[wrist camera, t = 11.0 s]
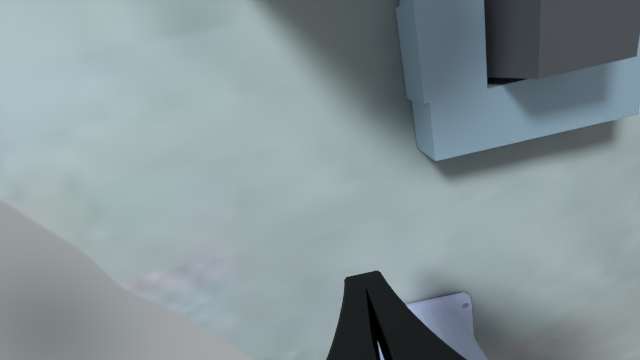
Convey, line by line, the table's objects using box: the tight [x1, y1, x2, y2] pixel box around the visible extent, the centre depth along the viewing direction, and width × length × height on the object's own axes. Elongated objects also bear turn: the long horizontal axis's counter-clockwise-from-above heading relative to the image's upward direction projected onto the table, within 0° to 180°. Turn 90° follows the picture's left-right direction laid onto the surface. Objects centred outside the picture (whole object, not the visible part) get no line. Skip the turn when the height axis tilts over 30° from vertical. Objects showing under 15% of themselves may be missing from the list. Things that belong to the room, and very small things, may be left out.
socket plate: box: [395, 0, 640, 161], centre depth 16 cm, size 12×12×3 cm
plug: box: [484, 0, 640, 79], centre depth 14 cm, size 4×4×6 cm
